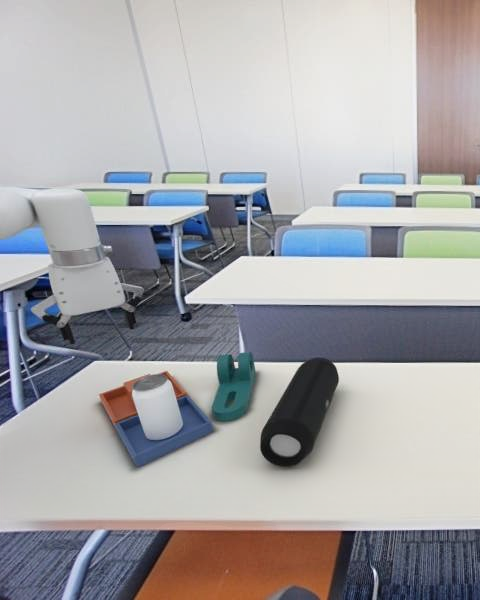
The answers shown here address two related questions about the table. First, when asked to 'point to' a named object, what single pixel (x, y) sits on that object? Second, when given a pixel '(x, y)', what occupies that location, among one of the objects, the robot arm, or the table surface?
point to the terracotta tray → (121, 406)
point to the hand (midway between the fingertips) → (102, 334)
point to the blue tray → (150, 449)
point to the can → (157, 407)
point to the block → (131, 389)
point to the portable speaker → (299, 413)
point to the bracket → (233, 386)
